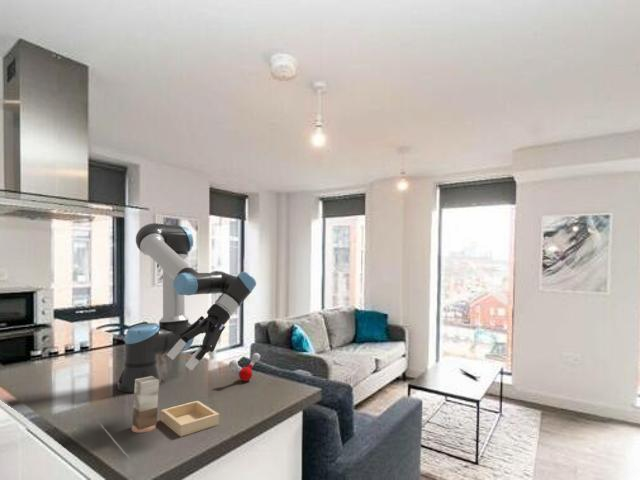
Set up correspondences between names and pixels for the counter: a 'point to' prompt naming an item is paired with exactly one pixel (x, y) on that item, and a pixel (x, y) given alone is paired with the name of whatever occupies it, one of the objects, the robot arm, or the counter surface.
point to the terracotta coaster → (142, 429)
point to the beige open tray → (189, 418)
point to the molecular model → (245, 372)
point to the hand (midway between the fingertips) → (178, 362)
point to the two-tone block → (145, 402)
